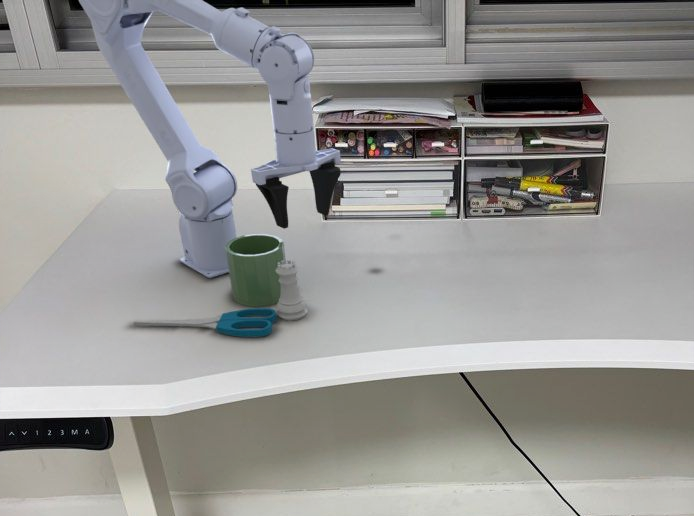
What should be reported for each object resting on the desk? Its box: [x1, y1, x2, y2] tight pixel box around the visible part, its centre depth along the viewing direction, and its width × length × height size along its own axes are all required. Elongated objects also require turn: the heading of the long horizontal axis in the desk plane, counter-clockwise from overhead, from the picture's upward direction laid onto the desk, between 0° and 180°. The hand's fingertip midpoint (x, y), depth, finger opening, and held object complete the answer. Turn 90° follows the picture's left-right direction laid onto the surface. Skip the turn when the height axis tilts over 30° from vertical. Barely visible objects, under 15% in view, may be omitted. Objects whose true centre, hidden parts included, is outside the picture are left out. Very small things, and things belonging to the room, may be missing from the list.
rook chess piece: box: [276, 259, 309, 322], centre depth 113 cm, size 4×4×8 cm
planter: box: [225, 233, 287, 307], centre depth 119 cm, size 8×8×8 cm
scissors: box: [133, 307, 278, 338], centre depth 112 cm, size 7×1×20 cm
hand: (303, 219), depth 121 cm, fingers open, 7 cm apart
